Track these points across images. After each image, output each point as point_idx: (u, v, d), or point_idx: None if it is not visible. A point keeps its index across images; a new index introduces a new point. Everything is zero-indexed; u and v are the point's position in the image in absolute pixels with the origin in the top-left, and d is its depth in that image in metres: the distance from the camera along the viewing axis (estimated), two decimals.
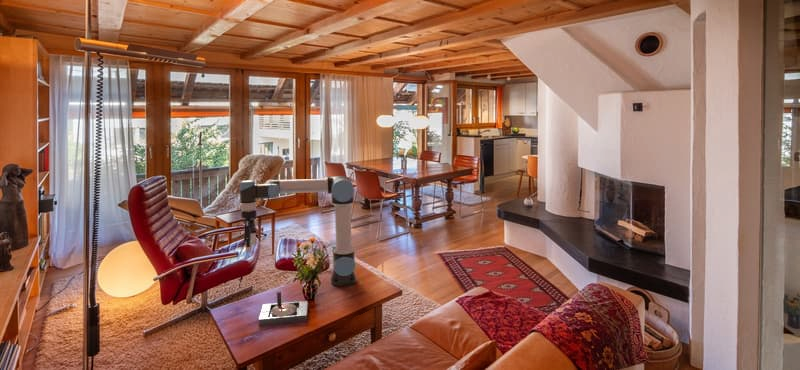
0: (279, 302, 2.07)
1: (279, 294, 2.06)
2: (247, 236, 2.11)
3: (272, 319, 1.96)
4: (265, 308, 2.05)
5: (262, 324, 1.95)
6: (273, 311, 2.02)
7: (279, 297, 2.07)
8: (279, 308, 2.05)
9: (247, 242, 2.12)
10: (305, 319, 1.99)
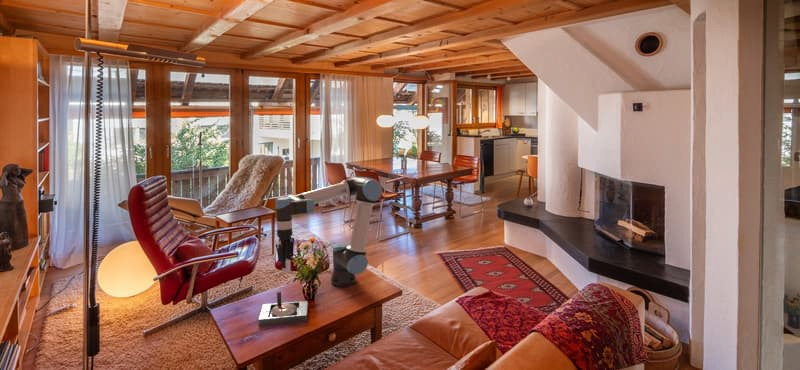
0: (279, 302, 2.07)
1: (279, 294, 2.06)
2: (280, 258, 2.06)
3: (272, 319, 1.96)
4: (265, 308, 2.05)
5: (262, 324, 1.95)
6: (273, 311, 2.02)
7: (279, 297, 2.07)
8: (279, 308, 2.05)
9: (282, 263, 2.09)
10: (305, 319, 1.99)
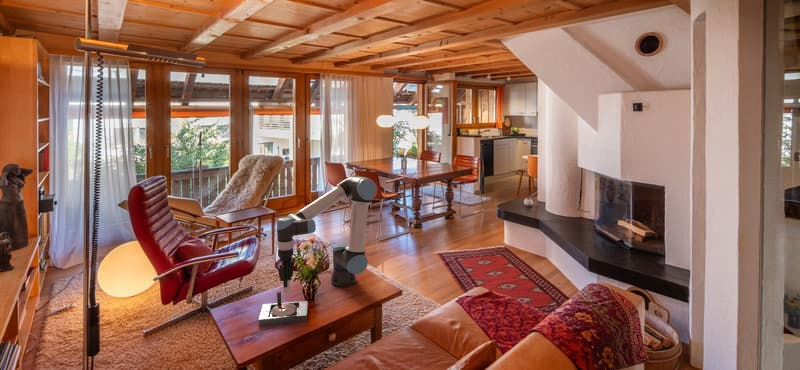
0: (279, 302, 2.07)
1: (279, 294, 2.06)
2: (282, 278, 2.09)
3: (272, 319, 1.96)
4: (265, 308, 2.05)
5: (262, 324, 1.95)
6: (273, 311, 2.02)
7: (279, 297, 2.07)
8: (279, 308, 2.05)
9: (284, 282, 2.11)
10: (305, 319, 1.99)
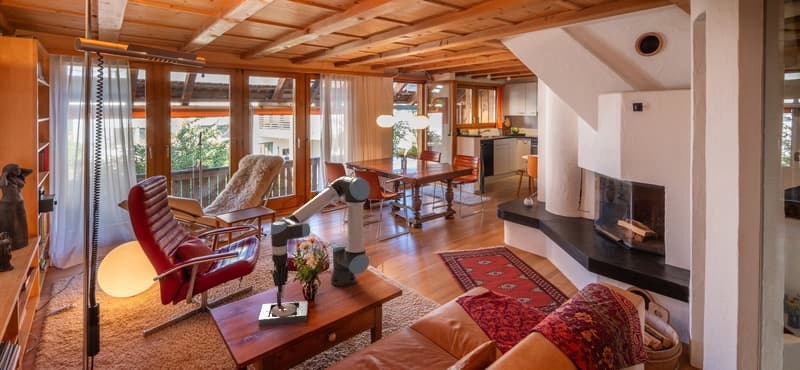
0: (279, 302, 2.07)
1: (279, 294, 2.06)
2: (276, 283, 2.05)
3: (272, 319, 1.96)
4: (265, 308, 2.05)
5: (262, 324, 1.95)
6: (273, 311, 2.02)
7: (279, 297, 2.07)
8: (279, 308, 2.05)
9: (278, 287, 2.08)
10: (305, 319, 1.99)
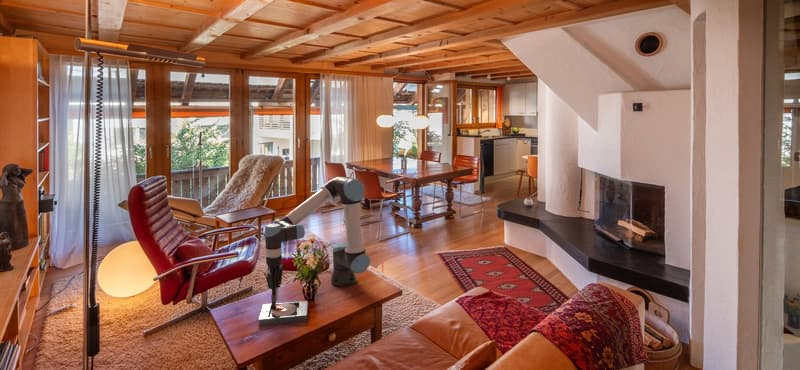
0: (275, 305, 2.04)
1: (275, 296, 2.04)
2: (270, 286, 2.02)
3: (272, 319, 1.96)
4: (265, 308, 2.05)
5: (262, 324, 1.95)
6: (277, 313, 2.00)
7: (275, 300, 2.04)
8: (278, 310, 2.03)
9: (272, 290, 2.05)
10: (305, 319, 1.99)
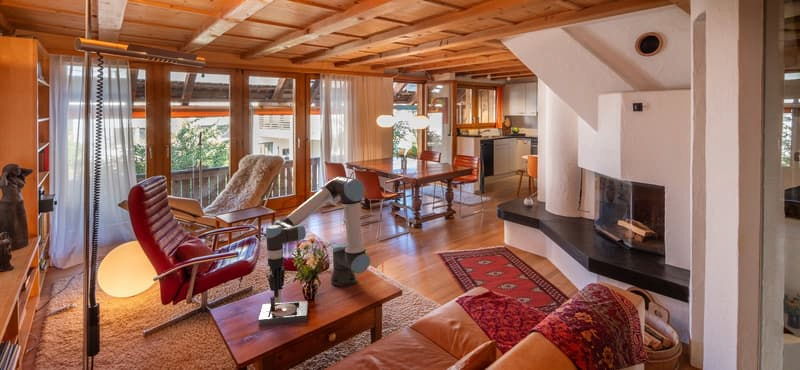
0: (274, 306, 2.02)
1: (274, 298, 2.02)
2: (272, 288, 2.01)
3: (272, 319, 1.96)
4: (265, 308, 2.05)
5: (262, 324, 1.95)
6: (282, 314, 1.99)
7: (274, 301, 2.02)
8: (279, 311, 2.02)
9: (274, 292, 2.04)
10: (305, 319, 1.99)
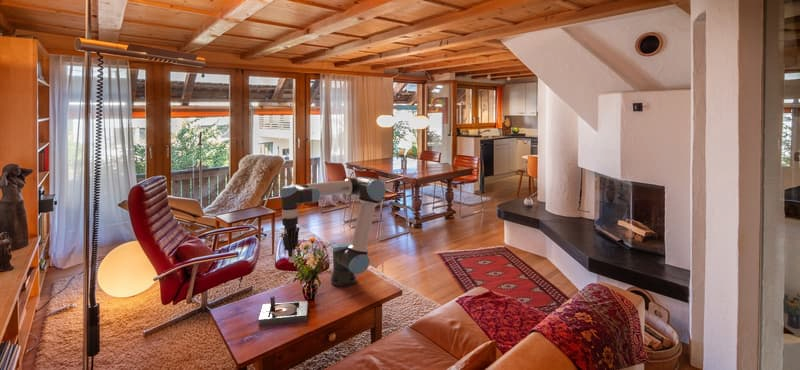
0: (274, 306, 2.02)
1: (274, 298, 2.02)
2: (287, 247, 2.06)
3: (272, 319, 1.96)
4: (265, 308, 2.05)
5: (262, 324, 1.95)
6: (282, 314, 1.99)
7: (274, 301, 2.02)
8: (279, 311, 2.02)
9: (289, 251, 2.08)
10: (305, 319, 1.99)
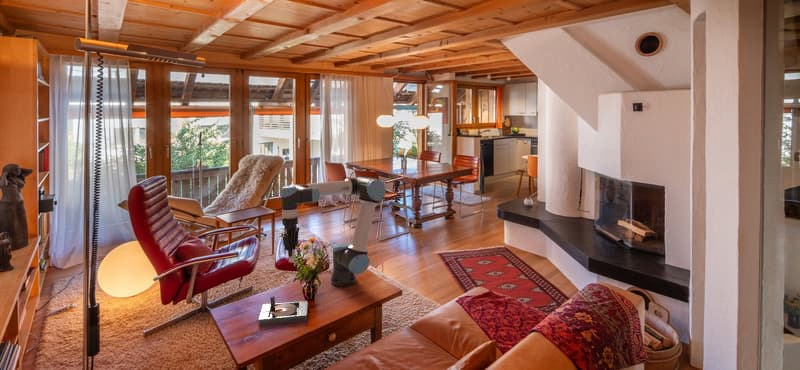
0: (274, 306, 2.02)
1: (274, 298, 2.02)
2: (287, 247, 2.06)
3: (272, 319, 1.96)
4: (265, 308, 2.05)
5: (262, 324, 1.95)
6: (282, 314, 1.99)
7: (274, 301, 2.02)
8: (279, 311, 2.02)
9: (289, 251, 2.08)
10: (305, 319, 1.99)
